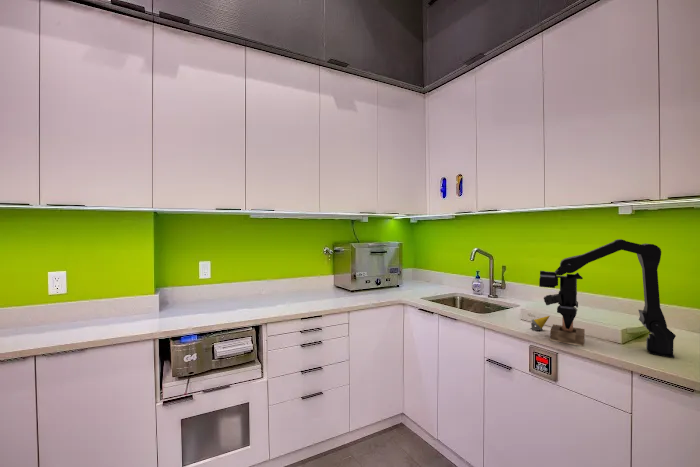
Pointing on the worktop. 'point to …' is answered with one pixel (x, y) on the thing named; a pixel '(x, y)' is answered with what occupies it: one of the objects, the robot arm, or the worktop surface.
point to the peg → (565, 327)
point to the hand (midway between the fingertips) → (567, 327)
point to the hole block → (567, 335)
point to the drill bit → (539, 323)
